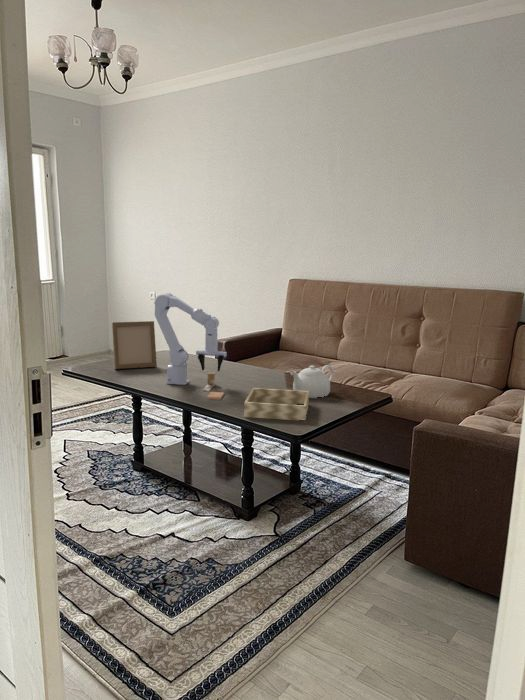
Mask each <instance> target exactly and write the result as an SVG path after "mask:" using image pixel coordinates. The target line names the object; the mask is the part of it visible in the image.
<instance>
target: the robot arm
mask: <svg viewBox="0 0 525 700" xmlns="http://www.w3.org/2000/svg"><path fill="white" fill-rule="evenodd" d="M153 304H154V316H155V319H156V322H157V324H158V326H159V328H160V330H161V332H162V335H163V337H164V340H165V341H166V344H167V346H168V349H169V351H168V354H169V357H170V359H169V361H170V363H171V364H168V365H167V368H166V384H167V385H182V386H183V385H184V386H186V385H187V384H188V383H189V382H190V379H188V362H187V361H188V360H189V357H190V356H189V354H188V351H186V350H185V348H184V347H183V345H182V344H181V343H180V342H179V340H178V337H177V335H176V332H175V331H174V328H173V326H172V324H171V321H170V319H169V317H168V315H167V314H168V312H169V310H170V309H171V308H177V309H179V310H181V311H183V312H185V313H186V314H189V315H190V317H191V319H192V320H193V321H195V322H196V323H198V324H200V325H201V326H203V328H204V329H205V336H204V337H205V341H204V342H205V343H204V344H205V345H204V346H205V347H204V348H205V349H204V350H196V351H195V356H197V359H198V361H199V364H200V366H201V371H205V367H206V366H205V361H206V359H205V357H206V356H211V357H217V372H220V371H221V367H222V363H223V361H224V359H225V358H226V357H227V351H219V350H218V327H219V325H220V322H219V319H218V318H217V317H216V316H212V315H211V314H208V313H206V312H205V311H204V309H202V308H194V307H192V306H191V305H189V304H187V303H186V302H184V301H183V300H181V299H180V298H179V297H178V296H176V295H173V294H172V293H170V292H167V293H164V294H160V295H157V296H156V299H155V300H154V303H153Z"/></svg>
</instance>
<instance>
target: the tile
mask: <svg viewBox="0 0 525 700" xmlns="http://www.w3.org/2000/svg"><path fill="white" fill-rule="evenodd" d="M224 395H225V392H222V391H209V394H208V395H207V397H206V399H207V400H216V401H217V400H218V401H219V400H220V401H221V399H222V398H223V396H224Z"/></svg>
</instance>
